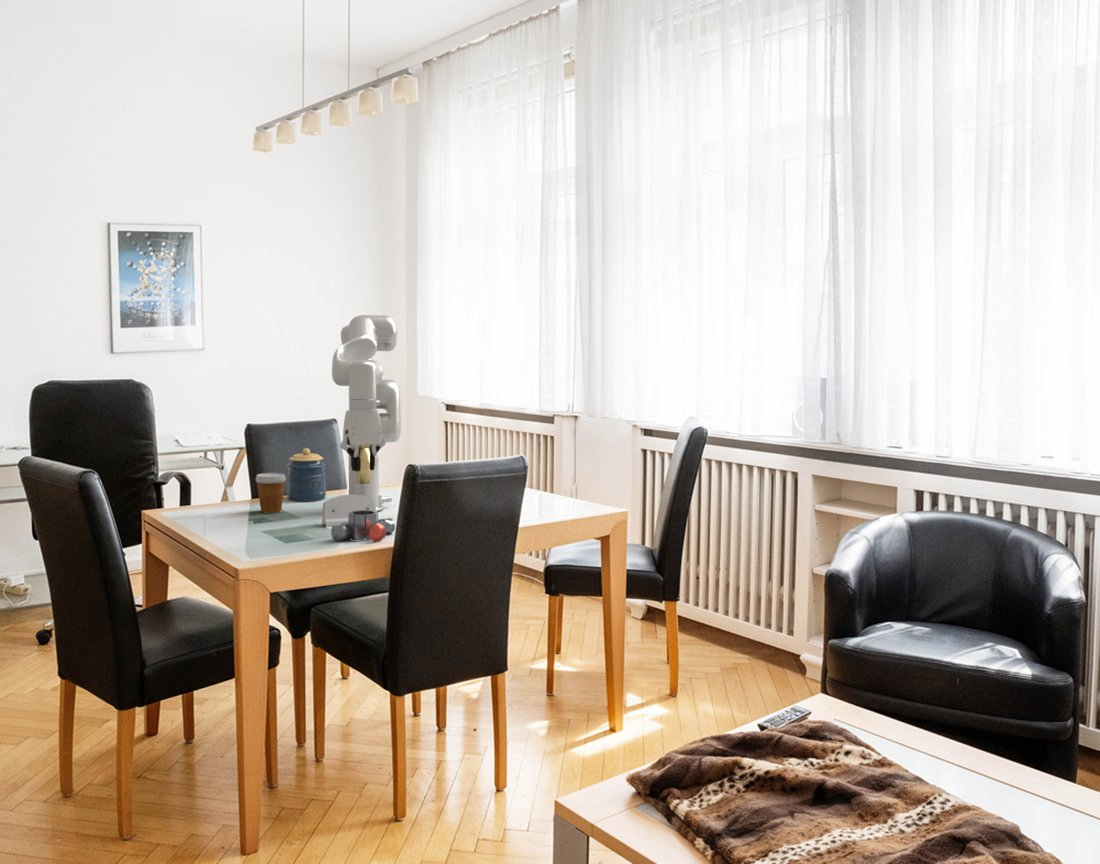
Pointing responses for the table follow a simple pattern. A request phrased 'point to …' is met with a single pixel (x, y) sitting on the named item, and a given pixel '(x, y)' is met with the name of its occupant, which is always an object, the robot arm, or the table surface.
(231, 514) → the table surface
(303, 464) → the canister
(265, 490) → the disposable coffee cup
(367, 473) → the brass cylinder
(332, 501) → the white slotted block
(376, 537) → the valve body
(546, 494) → the table surface
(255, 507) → the table surface
